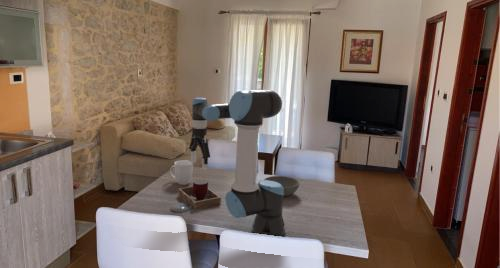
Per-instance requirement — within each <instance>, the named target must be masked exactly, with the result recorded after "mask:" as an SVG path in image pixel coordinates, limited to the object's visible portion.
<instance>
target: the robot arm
mask: <svg viewBox="0 0 500 268" xmlns="http://www.w3.org/2000/svg"><path fill="white" fill-rule="evenodd" d="M230 97H231V98H230V100H229V103H216V104H215V103H211V104H210V103H208V99H207V98H205V97H194V98H193V99H192V104H191V106H192V112H191V113H192V119H191V121H192V122H191V126H192V129H191V131H192V134H191V138H190V144H189V148H188V149H189V150H190V161H191V163H193V164H194V163H195V164H196V163H197V148H198V147H199V148H200V151H201V154H202V158H201V159H202V160H201V161H202V162H201V163H202V164H201V165H202V166H201V170H202V171H206V170H208V165H209V164H208V161H209V160H208V158H211V155H210V148H209V143H208V142H209V141H208V138H205V136H207V134H208V133H207V132H208V130H207V127H208V121H209V122H213V121H216V120H223V119H224V120H225V119H232V120H233V123H234V125H236V127H237V131H236V132H237V136H236V158H235V176H234V177H235V181H234V182H233V183H232V184H231V187H230V188H231V191H230V190H229V191H228V192H226V194H225V198H224V199H225V205H226V207H227V210H228V212H229V214H230V215H231V216H232V217H234V218H235V219H241V218H246V217H250V216H254V215H255V217H254V220H253V222H252V228H251V230H252V233H253V234H254V233H259V234H267V235H274V236H281V237H282V236H284V234H285V233H286V225H285V221H284V218H283V208H284V207H283V206H284V196H283V195H284V188H283V186H282V185H281V184H280V183H277V182H274V181H269V180H264V179H263V180H262V179H261V180H259V181H258V183H256V180H257V179H256V178H257V160H258V145H259V129H260V127H262V126H263V123H264V119H270V118H273V117H276V116H277V115H278V114H279V113H280V112H281V110H282V107H283V100H282V98H281V96H280V94H279V93H277V92H275V91H274V90H271V89H245V90H239V91H238V90H237V91H235V93H233V95H232V96H230Z"/></svg>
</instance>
